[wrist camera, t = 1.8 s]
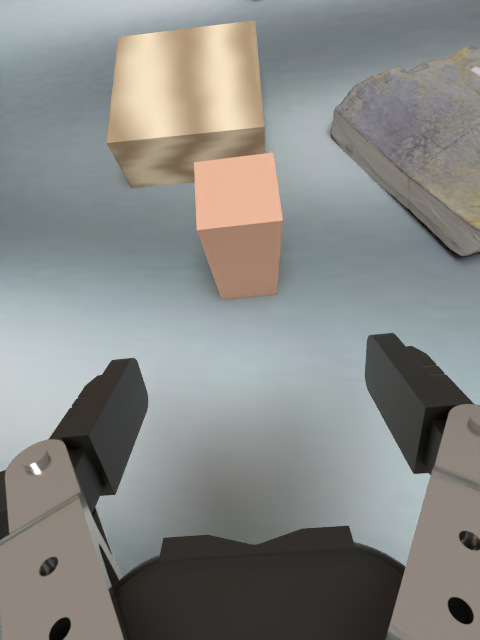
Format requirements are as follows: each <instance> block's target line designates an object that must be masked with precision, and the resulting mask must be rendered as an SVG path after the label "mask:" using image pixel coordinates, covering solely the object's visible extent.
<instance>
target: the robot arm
mask: <svg viewBox="0 0 480 640" xmlns="http://www.w3.org/2000/svg"><path fill="white" fill-rule="evenodd" d="M365 380H366V385H367V389H368V391H369V393H370V395H371V397H372V399H373V400H374V402H375V404H376V406H377V408H378V410H379V411H380V413H381V415H382V417H383V419H384V421H385V422H386V424H387V426H388V428H389V430H390V432H391V433H392V435H393V437H394V439H395V441H396V443H397V444H398V446H399V448H400V450H401V452H402V454H403V455H404V457H405V459H406V461H407V463H408V465H409V466H410V468H411V470H412V472H413V474H419V473H429V474H430V475H431V476H430V480H429V484H428V487H427V491H426V495H425V498H424V502H423V505H422V509H421V513H420V516H419V520H418V524H417V527H416V531H415V535H414V538H413V542H412V546H411V549H410V553H409V556H408V560H407V564H406V567H405V566H404V565H403V564H401V563H400V562H399V561H397V560H395V559H394V558H392V557H390V556H389V555H387V554H385V553H383V552H381V551H379V550H377V549H374V548H372V547H369V546H366V545H363V544H360V543H355V542H353V539H352V535H351V532H350V528H349V526H337V527H322V528H307V529H300V530H297V531H295V532H292V533H289V534H286V535H283V536H280V537H278V538H275V539H272V540H269V541H266V542H264V543H261V544H257V545H251V544H246V543H242V542H237V541H233V540H228V539H224V538H219V537H215V536H210V535H199V536H184V537H169V538H163V543H162V548H161V553H160V555H158V556H155V557H153V558H151V559H149V560H147V561H145V562H143V563H142V564H140V565H138V566H137V567H135V568H134V569H132V570H131V571H130V572H129V573H127V574H126V575H125V576H122V573H121V571H120V569H119V566H118V564H117V561H116V559H115V556H114V553H113V550H112V548H111V545H110V542H109V539H108V537H107V534H106V531H105V528H104V526H103V523H102V520H101V517H100V515H99V512H98V510H97V508H96V504H97V501H98V499H99V497H100V496H104V495H115V494H116V491H117V489H118V486H119V483H120V481H121V478H122V475H123V473H124V470H125V468H126V465H127V462H128V460H129V457H130V454H131V452H132V449H133V446H134V444H135V441H136V438H137V436H138V433H139V430H140V428H141V425H142V423H143V420H144V417H145V415H146V412H147V408H148V394H147V390H146V387H145V384H144V381H143V377H142V374H141V371H140V368H139V365H138V362H137V360H136V359H135V358H128V359H118V360H112V361H111V362H110V363H109V365H108V366H107V368H106V370H105V371H104V373H103V374H102V375H99V376H97V377H96V378H94V379H93V380H92V381H91V382H89V383H88V384H87V385H86V386H85V387H84V389H83V390H82V392H81V393H80V395H79V396H78V399H76V400H75V402H74V403H73V405H72V408H70V409H69V410H68V412H67V413H66V415H65V416H64V418H63V419H62V421H61V422H60V423H59V425H58V426H57V428H56V429H55V431H54V432H53V434H52V435H51V437H50V438H49V439H48V440H45V441H41V442H38V443H36V444H34V445H32V446H30V447H28V448H27V449H25V450H24V451H22V452H21V453H20V454H18V455H17V456H16V457H15V458H14V459H13V460H12V461H11V463H10V464H9V466H8V467H7V469H6V470H5V471H2V472H0V612H1V636H2V640H480V405H476V404H473V402H472V401H471V400H470V399H469V398H468V397H467V396H466V395H465V394H464V393H463V392H462V391H461V390H460V389H459V388H458V387H457V386H456V384H455V383H454V382H453V381H452V380H451V379H450V378H449V377H448V376H447V375H445V374H444V372H443V371H442V370H441V369H440V368H439V367H438V366H436V363H435V362H434V361H433V360H432V359H431V358H430V357H429V356H428V355H427V354H426V353H424V352H422V351H420V350H418V349H416V348H415V347H413V346H407V347H406V346H405V345H404V344H403V343H402V342H401V341H400V340H399V338H398V337H397V336H396V335H395V334H394V333H387V334H377V335H369V337H368V339H367V350H366V365H365Z"/></svg>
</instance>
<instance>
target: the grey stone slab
mask: <svg viewBox="0 0 480 640" xmlns="http://www.w3.org/2000/svg"><path fill="white" fill-rule="evenodd" d="M331 134H332V136H333V138H334V139H335V141H336V142H337V143H338V145H339V146H340V147H341V148H342V149H343V150H344V151H345V152H346V153H347V154H348V155H349V156H350V157H351V158H352V159H353V160H354V161H355V162H356V163H357V164H359V165H360V166H361V167H362V168H363V169H364V170H365V171H366V172H367V173H368V174H369V175H370V176H371V177H372V178H373V179H374V180H375V181H376V182H377V183H378V184H379V185H380V186H381V187H383V188H384V189H385V190H386V191H387V192H388V193H389V194H391V195H392V196H394V197H395V198H396V199H397V200H398V201H399V202H400V203H401V204H402V205H403V206H405V207H406V208H408V209H409V210H410V211H411V212H412V213H413V214H414V215H415V216H416V217H417V218H418V219H419V220H420V221H422V222H423V223H424V224H425V225H426V226H427V227H428V228H429V229H430V230H431V231H432V232H433V233H434V234H435V235H436V236H437V237H439V238H440V239H441V240H442V242H443V243H444V244H445V245H447V246H448V247H449V248H450V249H451V250H452V251H454V252H456V253H457V254H459V255H461V256H467V255H471V254H473V253H476V252H480V49H479V48H476V47H474V46H469V45H466V46H464V47H463V48H462V49H461V50H460V51H459V53H457V54H455V55H453V56H451V57H449V58H447V59H443V60H432V61H429V62H425V63H422V64H420V65H419V66H417V67H415V68H414V69H412V70H410V71H409V72H407V71H405V70H404V68H402V67H396V68H393V69H389V70H386V71H384V72H382V73H379V74H377V75H375V76H371V77H370V78H368V79H366V80H365V81H363V82H361V83H358V84H357V85H355V86H354V87H353V88H352V90H351V91H350V92H349V93H348V95H347V96H346V97H345V99H344V100H343V101H342V103H341V104H340V105H338V106H337V107H336V108H335V110H334V116H333V122H332V130H331Z"/></svg>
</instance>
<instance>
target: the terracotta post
mask: <svg viewBox="0 0 480 640" xmlns="http://www.w3.org/2000/svg"><path fill="white" fill-rule="evenodd" d="M194 173H195V198H196V222H197V232H198V235H199V238H200V241H201V243H202V246H203V249H204V252H205V255H206V257H207V260H208V263H209V266H210V269H211V271H212V274H213V277H214V280H215V283H216V285H217V288H218V291H219V294H220V297H221V299H222V300H227V299H236V298H246V297H256V296H266V295H276V294H277V286H278V274H279V261H280V249H281V236H282V223H283V219H282V212H281V205H280V198H279V190H278V183H277V176H276V169H275V162H274V155H273V153H265V154H257V155H249V156H241V157H233V158H225V159H217V160H209V161H201V162H194Z"/></svg>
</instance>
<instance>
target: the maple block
mask: <svg viewBox="0 0 480 640" xmlns="http://www.w3.org/2000/svg"><path fill="white" fill-rule="evenodd" d="M107 145H108V146H109V148H110V150H111V152H112V154H113V155H114V157H115V159H116V161H117V162H118V164H119V166H120V168H121V169H122V171H123V173H124V175H125V177H126V178H127V180H128V182H129V184H130V185H131V187H132V188H136V187H146V186H157V185H168V184H178V183H189V182H195V173H194V162H201V161H209V160H217V159H225V158H233V157H241V156H249V155H257V154H265V142H264V117H263V106H262V95H261V84H260V72H259V61H258V50H257V39H256V28H255V20H254V21H246V22H238V23H230V24H222V25H214V26H205V27H197V28H189V29H181V30H173V31H165V32H157V33H149V34H141V35H133V36H124V37H118V45H117V54H116V63H115V72H114V81H113V90H112V99H111V108H110V117H109V126H108V135H107Z"/></svg>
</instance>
